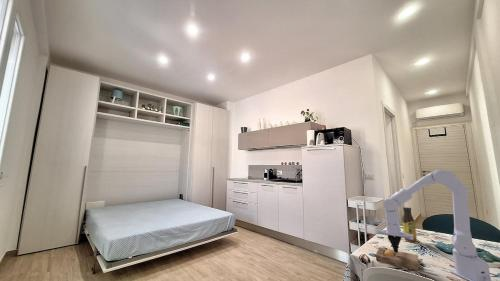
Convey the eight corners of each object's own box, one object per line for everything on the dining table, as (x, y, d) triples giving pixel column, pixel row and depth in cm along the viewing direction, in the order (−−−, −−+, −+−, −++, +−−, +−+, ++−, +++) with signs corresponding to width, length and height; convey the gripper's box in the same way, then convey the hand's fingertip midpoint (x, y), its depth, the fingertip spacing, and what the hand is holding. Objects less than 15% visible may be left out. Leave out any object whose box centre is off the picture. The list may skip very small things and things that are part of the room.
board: (418, 260, 98) (417, 254, 98) (418, 270, 89) (417, 264, 89) (379, 252, 108) (379, 247, 108) (376, 260, 99) (375, 255, 99)
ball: (386, 260, 101) (395, 261, 99) (383, 256, 100) (393, 257, 97) (385, 252, 104) (394, 253, 101) (383, 248, 102) (392, 249, 100)
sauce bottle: (412, 243, 120) (407, 208, 123) (401, 239, 126) (397, 206, 128) (420, 241, 122) (415, 207, 124) (409, 238, 127) (405, 206, 130)
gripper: (411, 223, 99) (415, 252, 97) (377, 219, 108) (380, 246, 107) (410, 226, 94) (415, 258, 92) (375, 222, 103) (378, 250, 101)
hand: (396, 252), depth 99 cm, fingers closed
